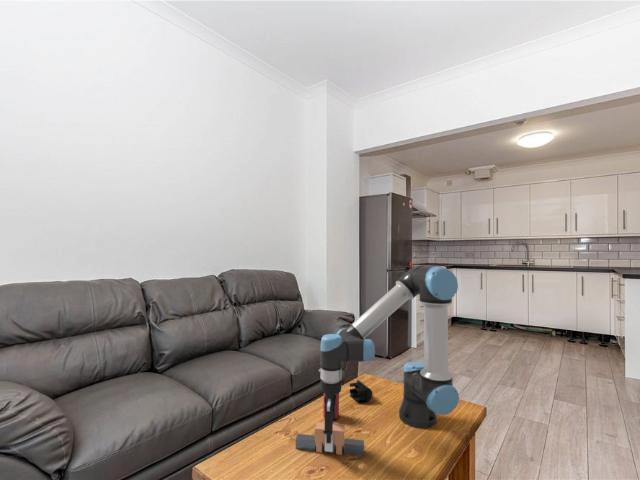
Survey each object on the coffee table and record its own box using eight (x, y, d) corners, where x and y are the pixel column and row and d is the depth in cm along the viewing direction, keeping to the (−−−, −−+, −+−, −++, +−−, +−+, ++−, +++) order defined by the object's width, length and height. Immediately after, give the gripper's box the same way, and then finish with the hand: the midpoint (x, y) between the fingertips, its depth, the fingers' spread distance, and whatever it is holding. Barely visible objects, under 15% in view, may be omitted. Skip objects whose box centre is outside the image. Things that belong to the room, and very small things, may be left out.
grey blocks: (364, 450, 116) (364, 440, 116) (363, 455, 113) (364, 445, 113) (297, 443, 119) (297, 433, 119) (295, 448, 116) (295, 438, 116)
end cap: (372, 402, 152) (372, 387, 152) (359, 404, 149) (359, 389, 149) (362, 393, 161) (362, 379, 161) (349, 395, 158) (349, 381, 158)
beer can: (337, 422, 134) (338, 392, 134) (321, 420, 135) (322, 390, 135) (339, 414, 140) (340, 385, 141) (324, 412, 142) (325, 384, 142)
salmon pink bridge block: (344, 447, 117) (344, 424, 117) (343, 454, 113) (343, 431, 113) (316, 444, 119) (316, 422, 119) (314, 451, 114) (315, 428, 114)
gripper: (323, 369, 126) (322, 430, 126) (316, 390, 108) (315, 461, 107) (343, 370, 125) (342, 431, 124) (339, 391, 106) (338, 464, 106)
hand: (329, 445), depth 116 cm, fingers open, 6 cm apart
